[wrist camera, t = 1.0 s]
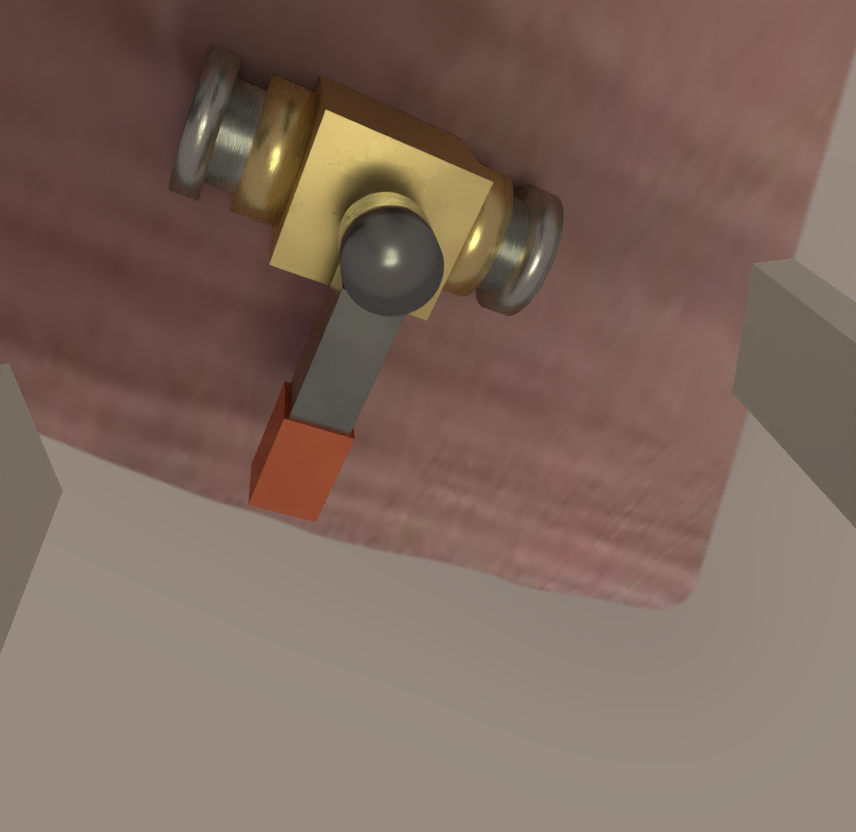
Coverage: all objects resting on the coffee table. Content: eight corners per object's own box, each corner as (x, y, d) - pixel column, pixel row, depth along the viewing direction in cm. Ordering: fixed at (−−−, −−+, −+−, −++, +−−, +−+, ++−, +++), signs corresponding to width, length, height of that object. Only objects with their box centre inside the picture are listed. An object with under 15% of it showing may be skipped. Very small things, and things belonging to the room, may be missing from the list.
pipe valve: (178, 172, 36) (149, 237, 29) (219, 30, 34) (198, 63, 26) (485, 289, 42) (525, 369, 34) (543, 175, 39) (600, 235, 32)
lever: (357, 175, 29) (364, 202, 26) (446, 211, 30) (461, 240, 27) (243, 461, 35) (239, 507, 32) (321, 482, 36) (323, 528, 33)
